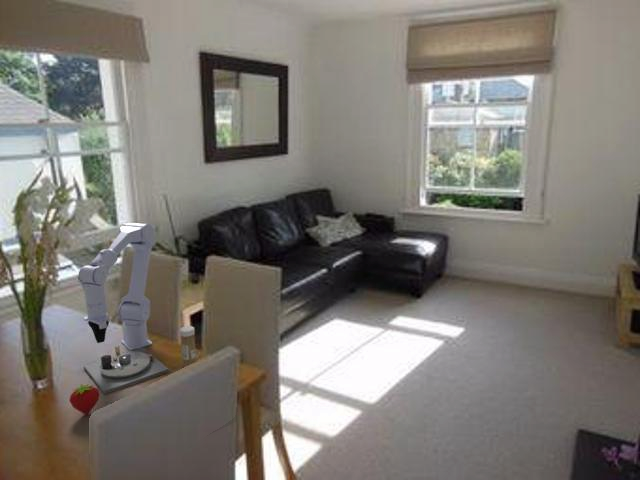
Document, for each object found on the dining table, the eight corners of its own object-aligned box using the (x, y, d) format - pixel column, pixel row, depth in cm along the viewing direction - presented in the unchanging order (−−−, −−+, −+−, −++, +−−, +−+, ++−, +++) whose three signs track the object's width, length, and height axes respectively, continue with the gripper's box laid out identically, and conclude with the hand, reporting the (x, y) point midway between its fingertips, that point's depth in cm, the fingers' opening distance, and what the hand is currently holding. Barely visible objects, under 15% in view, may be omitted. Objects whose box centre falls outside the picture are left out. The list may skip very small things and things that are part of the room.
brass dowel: (115, 357, 167) (114, 346, 166) (119, 355, 168) (118, 345, 167) (116, 358, 166) (115, 347, 165) (121, 357, 167) (119, 346, 166)
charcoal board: (84, 368, 161) (83, 365, 161) (144, 349, 174) (143, 347, 174) (104, 394, 147) (104, 391, 147) (168, 371, 159) (168, 368, 159)
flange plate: (137, 349, 171) (135, 336, 170) (162, 363, 162) (161, 349, 161) (91, 368, 159) (89, 354, 158) (116, 383, 150) (114, 369, 149)
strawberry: (102, 416, 136) (98, 383, 134) (72, 423, 133) (67, 390, 131) (101, 405, 141) (97, 373, 139) (72, 411, 138) (67, 379, 136)
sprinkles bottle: (198, 366, 163) (196, 329, 159) (185, 370, 160) (182, 332, 157) (194, 361, 166) (191, 324, 163) (180, 364, 164) (177, 327, 160)
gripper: (77, 298, 159) (82, 336, 163) (87, 312, 148) (92, 353, 152) (100, 293, 163) (105, 331, 167) (111, 307, 152) (116, 347, 156)
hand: (100, 341), depth 159 cm, fingers closed
